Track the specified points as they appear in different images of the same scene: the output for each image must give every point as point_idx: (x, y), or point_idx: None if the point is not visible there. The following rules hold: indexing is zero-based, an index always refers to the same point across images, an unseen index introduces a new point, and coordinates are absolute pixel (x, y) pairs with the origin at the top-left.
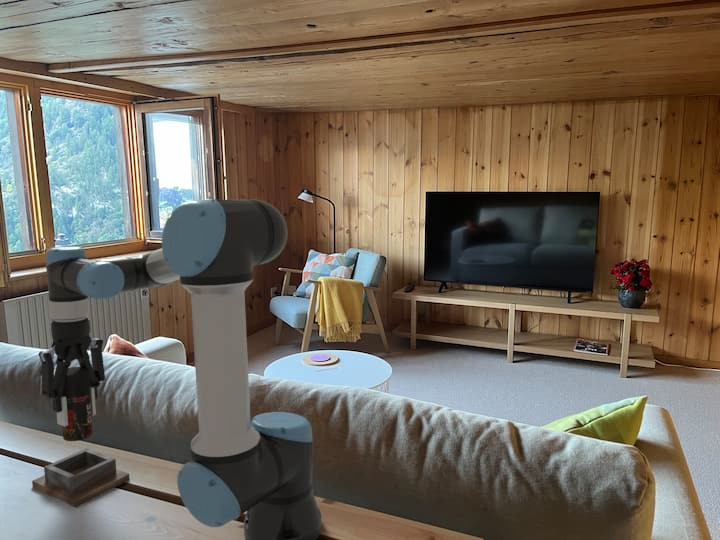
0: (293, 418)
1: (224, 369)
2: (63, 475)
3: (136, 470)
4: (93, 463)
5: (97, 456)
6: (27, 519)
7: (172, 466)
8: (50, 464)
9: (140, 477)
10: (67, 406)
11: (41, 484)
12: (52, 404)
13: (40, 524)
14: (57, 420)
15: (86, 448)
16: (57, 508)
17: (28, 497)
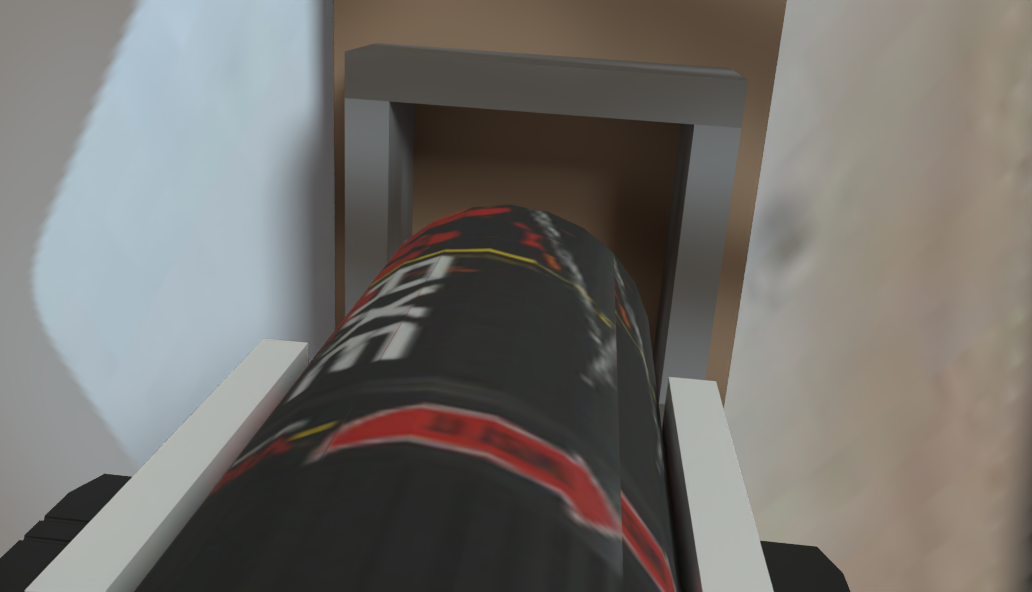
0: None
1: None
2: (346, 307)
3: (826, 401)
4: (674, 205)
5: (673, 282)
6: (139, 273)
7: (957, 562)
8: (394, 64)
9: (761, 485)
10: None
11: (338, 59)
12: (15, 545)
13: (156, 376)
14: (246, 363)
15: (738, 81)
16: (288, 326)
17: (260, 49)
